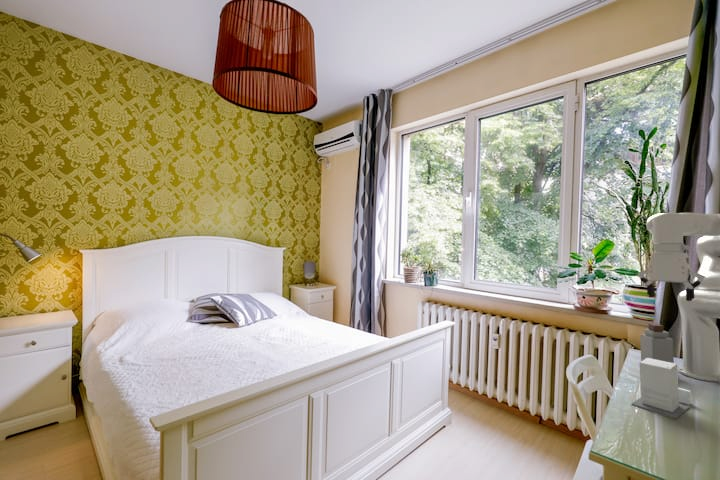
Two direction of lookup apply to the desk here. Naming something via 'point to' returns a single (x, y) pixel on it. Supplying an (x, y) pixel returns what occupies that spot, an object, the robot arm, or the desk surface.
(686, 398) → the frosted wall
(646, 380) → the supplement box
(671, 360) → the perfume bottle
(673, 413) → the charcoal mat
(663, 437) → the desk surface
